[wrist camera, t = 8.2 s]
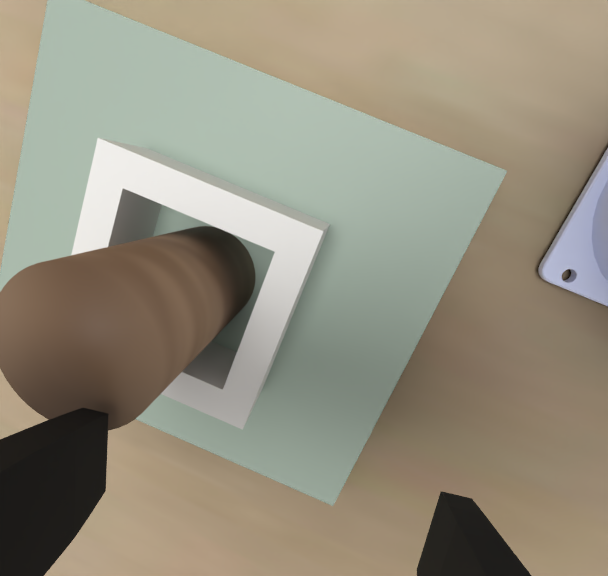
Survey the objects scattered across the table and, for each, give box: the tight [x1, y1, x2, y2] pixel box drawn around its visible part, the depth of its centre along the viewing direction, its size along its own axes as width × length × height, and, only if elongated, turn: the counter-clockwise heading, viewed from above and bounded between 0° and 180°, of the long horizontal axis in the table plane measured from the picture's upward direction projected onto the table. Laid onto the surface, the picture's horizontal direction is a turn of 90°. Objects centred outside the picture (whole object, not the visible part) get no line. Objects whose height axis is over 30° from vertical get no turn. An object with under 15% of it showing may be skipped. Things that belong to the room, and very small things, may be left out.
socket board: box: [0, 0, 507, 506], centre depth 15 cm, size 18×16×4 cm
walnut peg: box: [0, 226, 255, 430], centre depth 12 cm, size 4×4×8 cm
